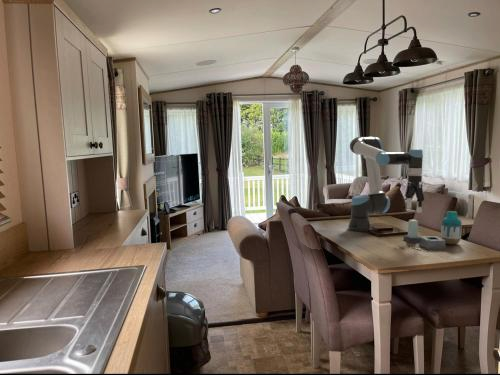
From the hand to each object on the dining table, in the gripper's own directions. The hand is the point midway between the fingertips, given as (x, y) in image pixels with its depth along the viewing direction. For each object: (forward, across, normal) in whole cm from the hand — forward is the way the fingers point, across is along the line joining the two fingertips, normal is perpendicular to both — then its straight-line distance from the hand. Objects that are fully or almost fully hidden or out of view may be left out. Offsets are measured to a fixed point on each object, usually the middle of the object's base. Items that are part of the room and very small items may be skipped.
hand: (413, 210), depth 233 cm
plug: (+19, 0, 0) cm, 19 cm away
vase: (+19, +8, +19) cm, 28 cm away
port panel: (+19, +14, +5) cm, 24 cm away
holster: (+19, 0, 0) cm, 19 cm away
